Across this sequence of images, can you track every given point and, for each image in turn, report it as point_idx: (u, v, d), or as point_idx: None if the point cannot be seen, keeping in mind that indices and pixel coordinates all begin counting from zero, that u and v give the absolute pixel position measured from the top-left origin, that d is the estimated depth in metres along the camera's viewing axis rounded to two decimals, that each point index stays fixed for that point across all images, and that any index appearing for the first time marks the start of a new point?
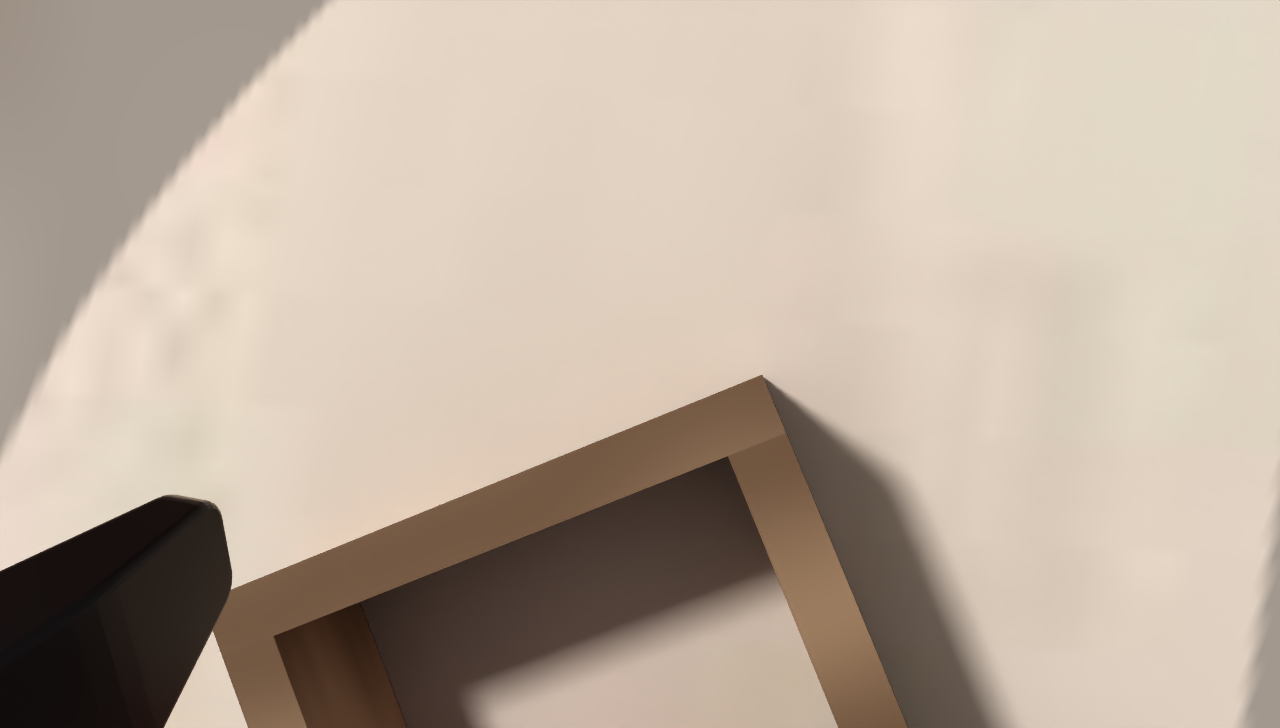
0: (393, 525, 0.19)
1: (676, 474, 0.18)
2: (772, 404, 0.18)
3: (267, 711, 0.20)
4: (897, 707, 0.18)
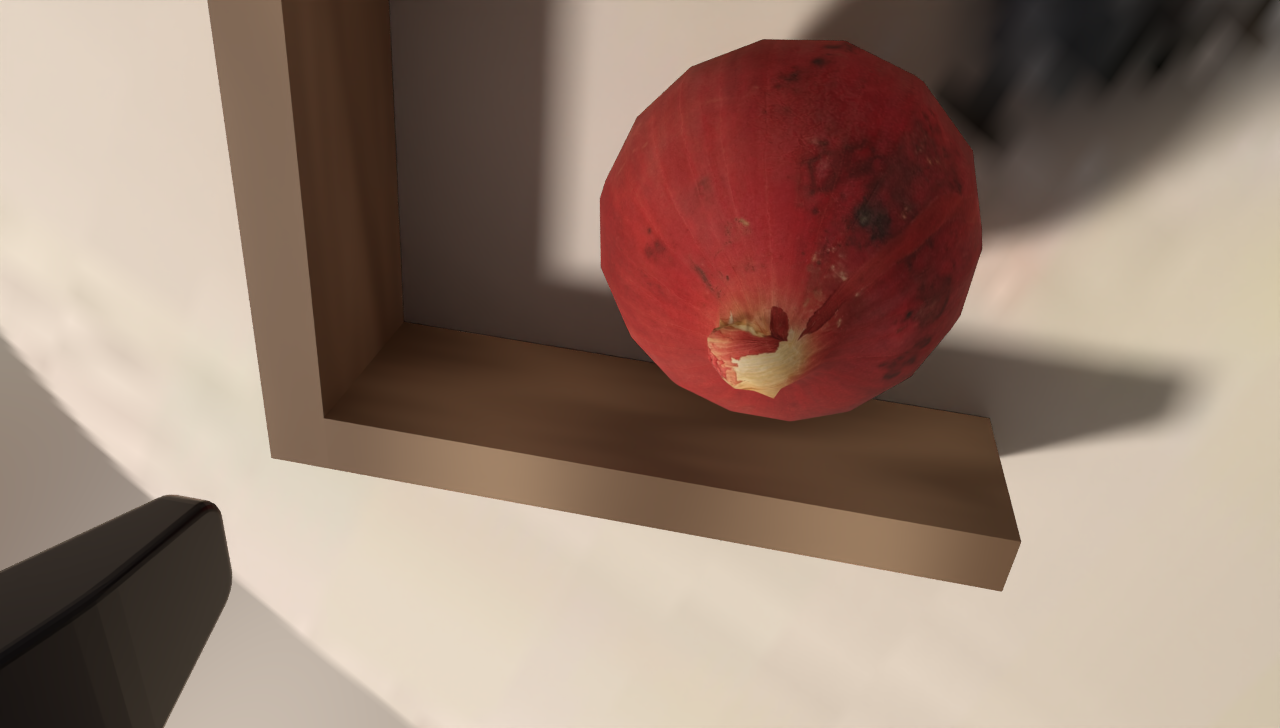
0: (243, 254, 0.17)
1: None
2: None
3: (394, 458, 0.18)
4: None
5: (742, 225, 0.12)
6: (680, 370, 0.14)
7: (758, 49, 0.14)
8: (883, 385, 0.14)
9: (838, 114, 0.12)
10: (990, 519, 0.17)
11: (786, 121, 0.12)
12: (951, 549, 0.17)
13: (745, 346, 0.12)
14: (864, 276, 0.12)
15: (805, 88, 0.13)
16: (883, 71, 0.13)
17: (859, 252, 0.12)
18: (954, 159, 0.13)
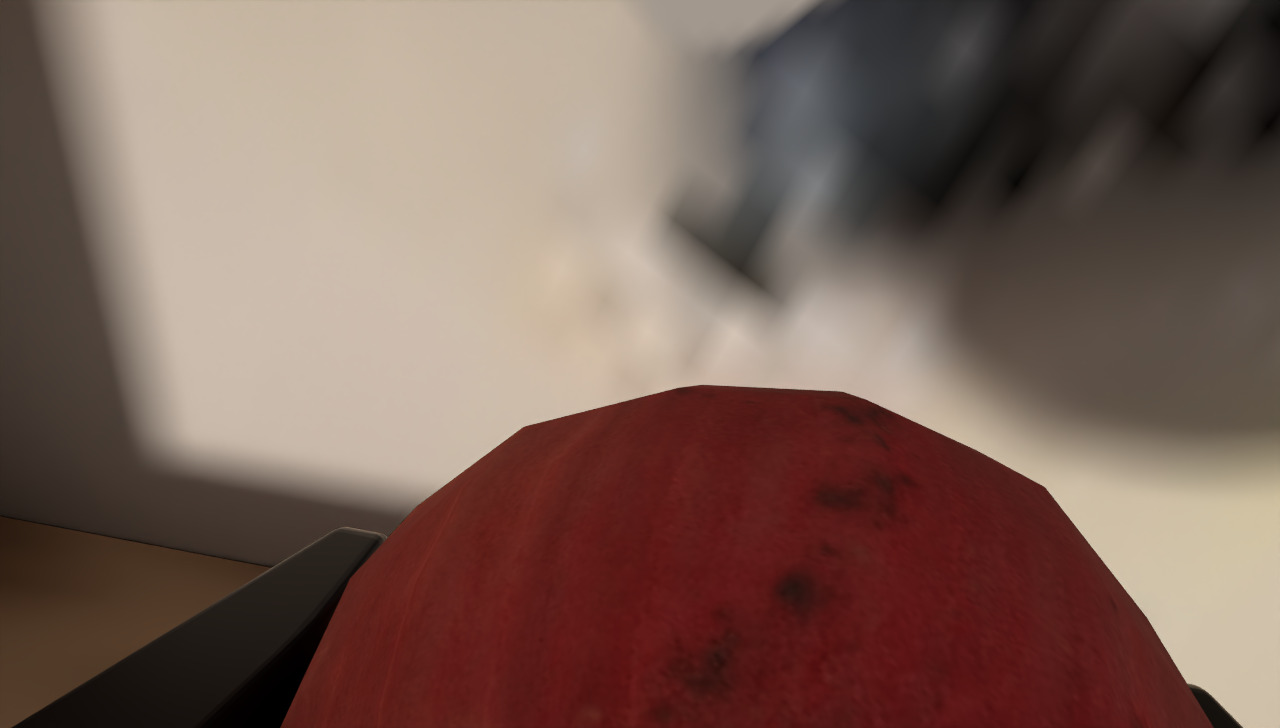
0: None
1: None
2: None
3: None
4: None
5: None
6: None
7: (625, 501, 0.05)
8: None
9: None
10: None
11: None
12: None
13: None
14: None
15: None
16: (989, 586, 0.05)
17: None
18: None
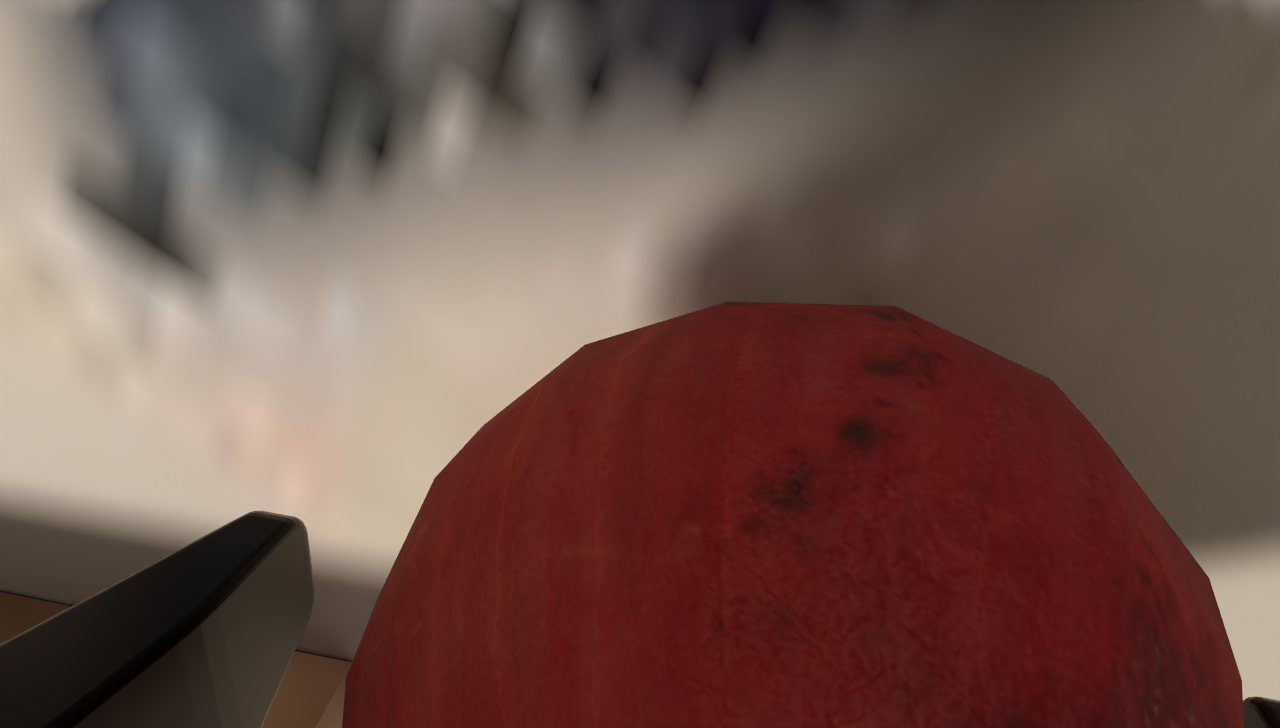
0: None
1: None
2: None
3: None
4: None
5: None
6: None
7: (700, 374, 0.05)
8: None
9: (929, 631, 0.04)
10: None
11: (781, 660, 0.04)
12: None
13: None
14: None
15: (831, 539, 0.05)
16: (1016, 435, 0.05)
17: None
18: (1212, 672, 0.05)
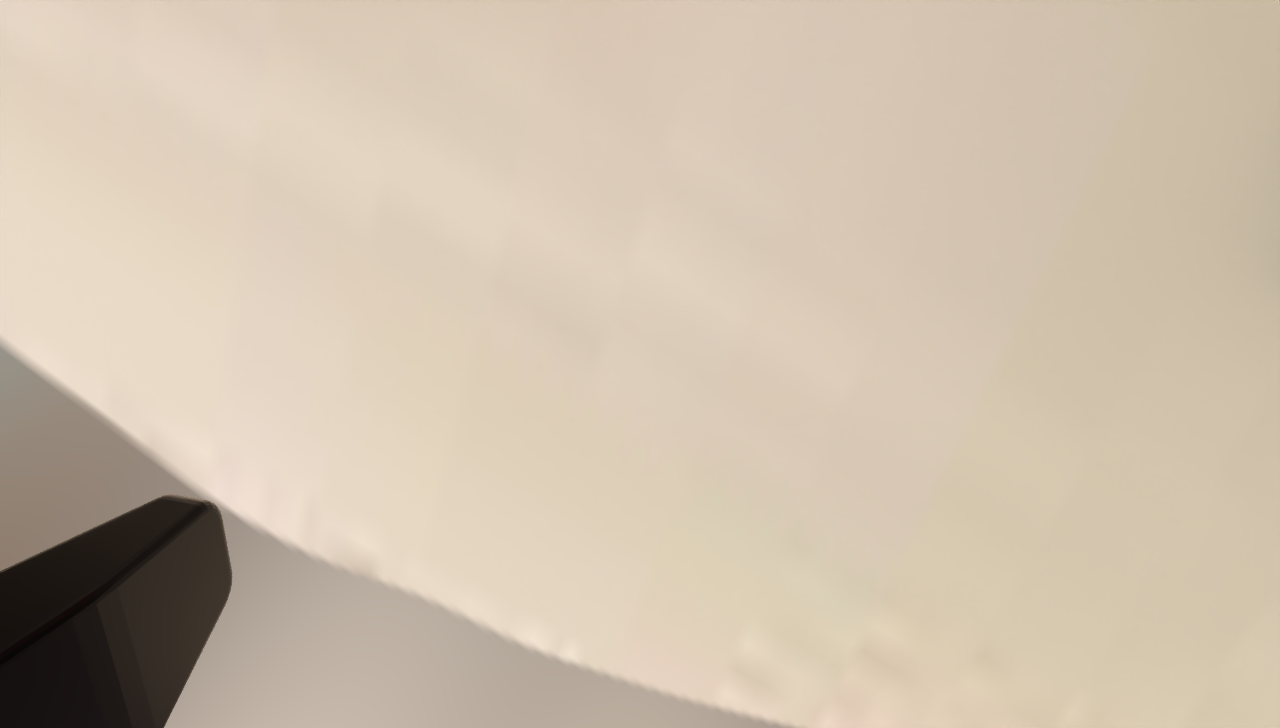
0: None
1: None
2: None
3: None
4: None
5: None
6: None
7: None
8: None
9: None
10: None
11: None
12: None
13: None
14: None
15: None
16: None
17: None
18: None
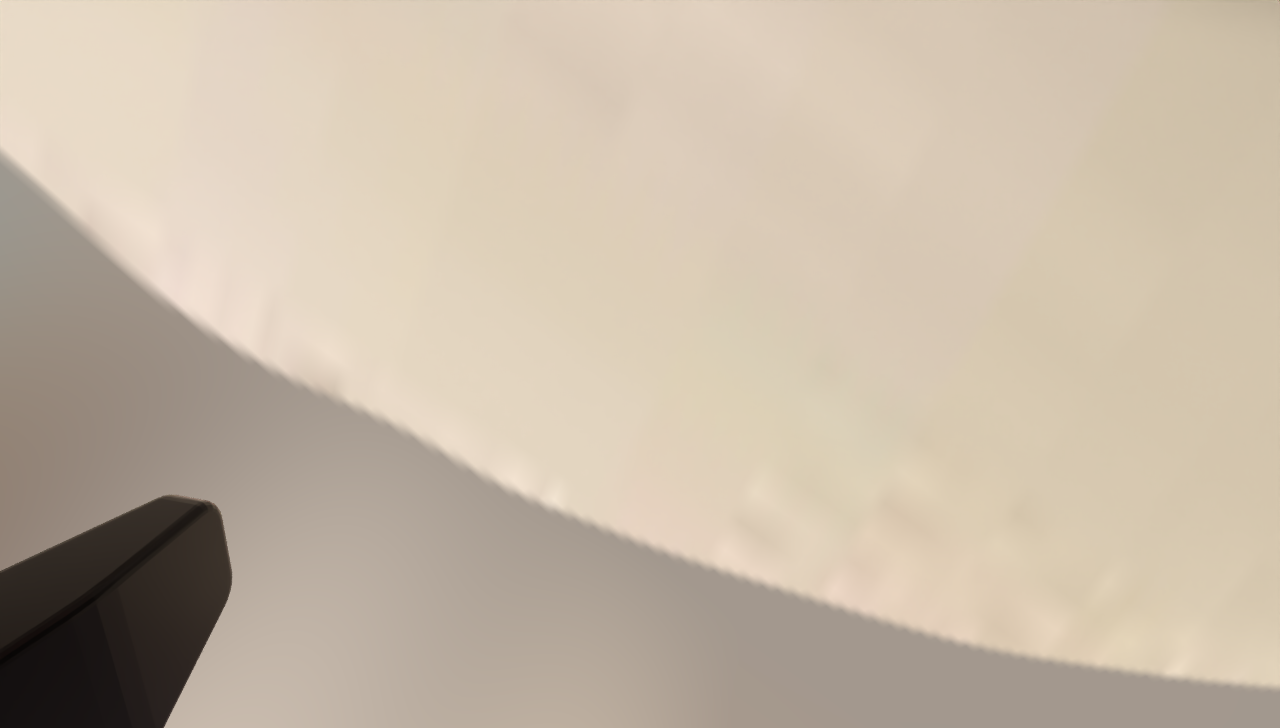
0: None
1: None
2: None
3: None
4: None
5: None
6: None
7: None
8: None
9: None
10: None
11: None
12: None
13: None
14: None
15: None
16: None
17: None
18: None
